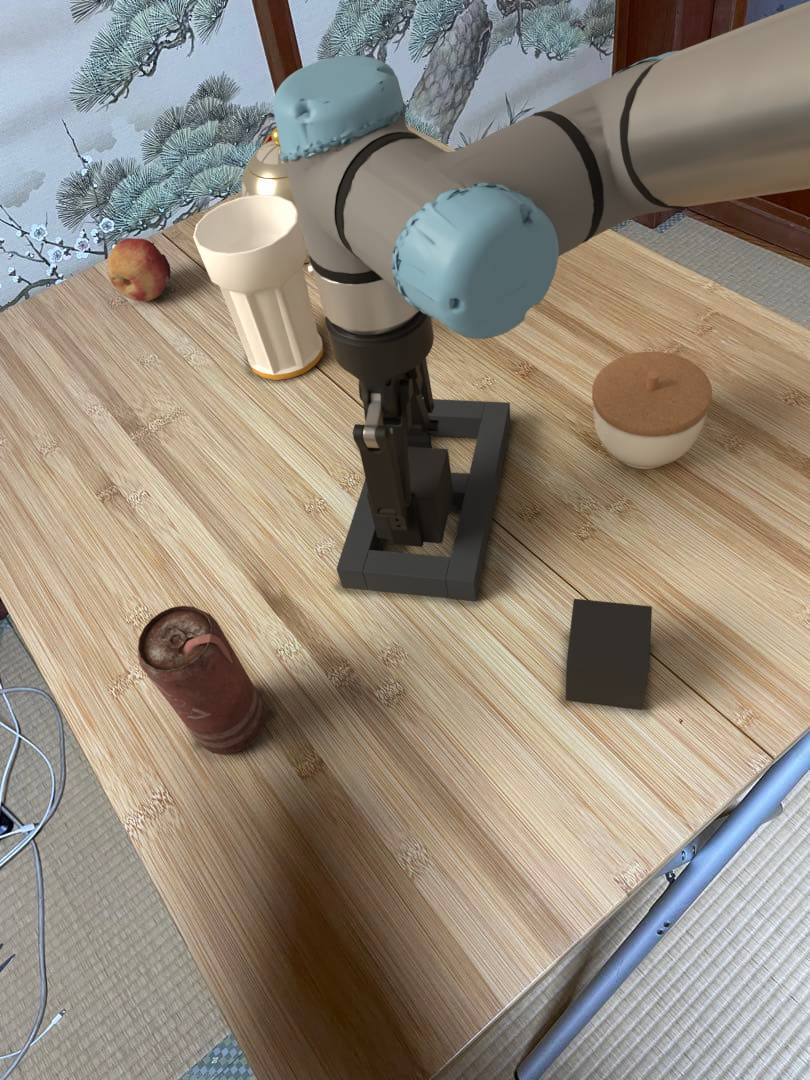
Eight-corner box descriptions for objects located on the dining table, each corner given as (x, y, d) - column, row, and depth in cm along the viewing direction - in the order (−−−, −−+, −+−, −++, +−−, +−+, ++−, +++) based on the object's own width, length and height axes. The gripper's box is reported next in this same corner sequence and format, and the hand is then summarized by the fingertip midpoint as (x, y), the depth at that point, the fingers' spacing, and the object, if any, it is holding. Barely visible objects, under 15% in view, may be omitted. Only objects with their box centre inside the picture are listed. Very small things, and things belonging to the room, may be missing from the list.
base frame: (510, 423, 88) (509, 402, 86) (476, 601, 75) (473, 582, 72) (395, 417, 91) (391, 396, 88) (342, 587, 78) (336, 568, 75)
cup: (237, 337, 104) (190, 208, 90) (325, 316, 104) (292, 184, 90) (244, 396, 96) (195, 265, 83) (339, 373, 97) (305, 238, 83)
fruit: (112, 298, 113) (87, 245, 107) (160, 271, 115) (138, 218, 109) (139, 321, 109) (114, 268, 102) (189, 293, 111) (167, 239, 105)
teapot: (248, 236, 118) (211, 120, 105) (338, 207, 119) (313, 88, 107) (280, 304, 107) (244, 183, 94) (379, 270, 108) (357, 147, 96)
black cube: (642, 710, 66) (649, 673, 61) (565, 700, 68) (566, 663, 63) (645, 645, 70) (652, 605, 65) (572, 637, 71) (573, 598, 66)
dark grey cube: (441, 543, 74) (434, 500, 70) (377, 538, 76) (366, 494, 71) (453, 493, 78) (447, 448, 73) (391, 488, 79) (382, 444, 75)
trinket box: (628, 502, 79) (636, 432, 72) (569, 434, 86) (571, 363, 78) (724, 459, 81) (741, 386, 74) (658, 396, 87) (668, 323, 80)
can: (270, 751, 68) (216, 667, 57) (194, 761, 69) (127, 679, 58) (271, 686, 72) (222, 595, 61) (200, 696, 72) (138, 607, 62)
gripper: (357, 228, 65) (398, 438, 83) (286, 394, 54) (352, 594, 72) (451, 227, 63) (473, 442, 81) (398, 399, 52) (436, 603, 70)
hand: (416, 513), depth 77 cm, fingers closed on dark grey cube, 6 cm apart
